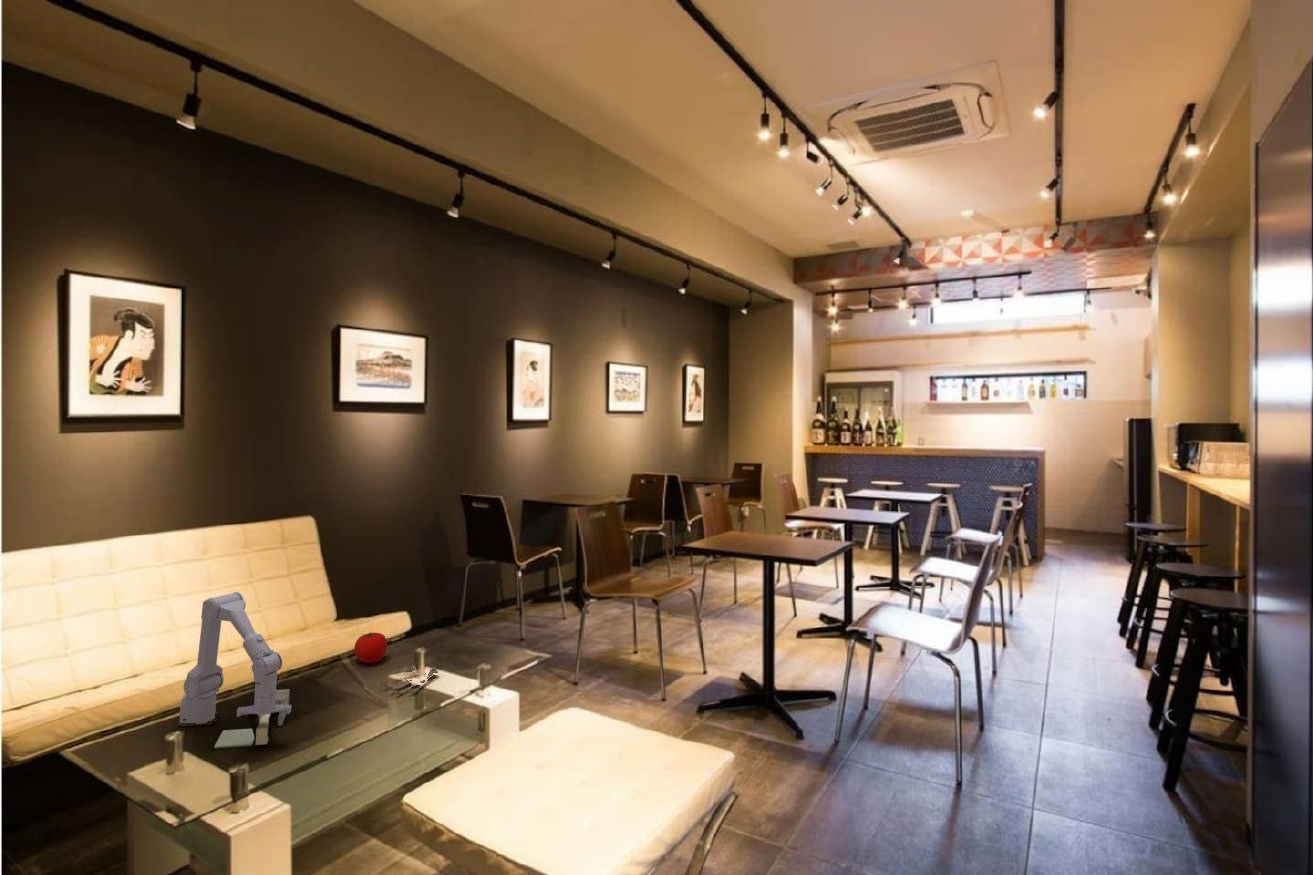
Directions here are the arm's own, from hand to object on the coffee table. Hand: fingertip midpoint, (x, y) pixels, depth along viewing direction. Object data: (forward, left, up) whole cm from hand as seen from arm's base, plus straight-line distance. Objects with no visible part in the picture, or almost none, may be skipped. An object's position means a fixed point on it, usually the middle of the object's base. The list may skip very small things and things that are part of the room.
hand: (262, 736), depth 216 cm
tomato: (+27, +64, -3) cm, 69 cm away
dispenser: (0, +18, -3) cm, 18 cm away
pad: (-8, +5, -3) cm, 10 cm away
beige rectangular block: (0, +3, -2) cm, 3 cm away
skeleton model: (+42, +39, -3) cm, 57 cm away
